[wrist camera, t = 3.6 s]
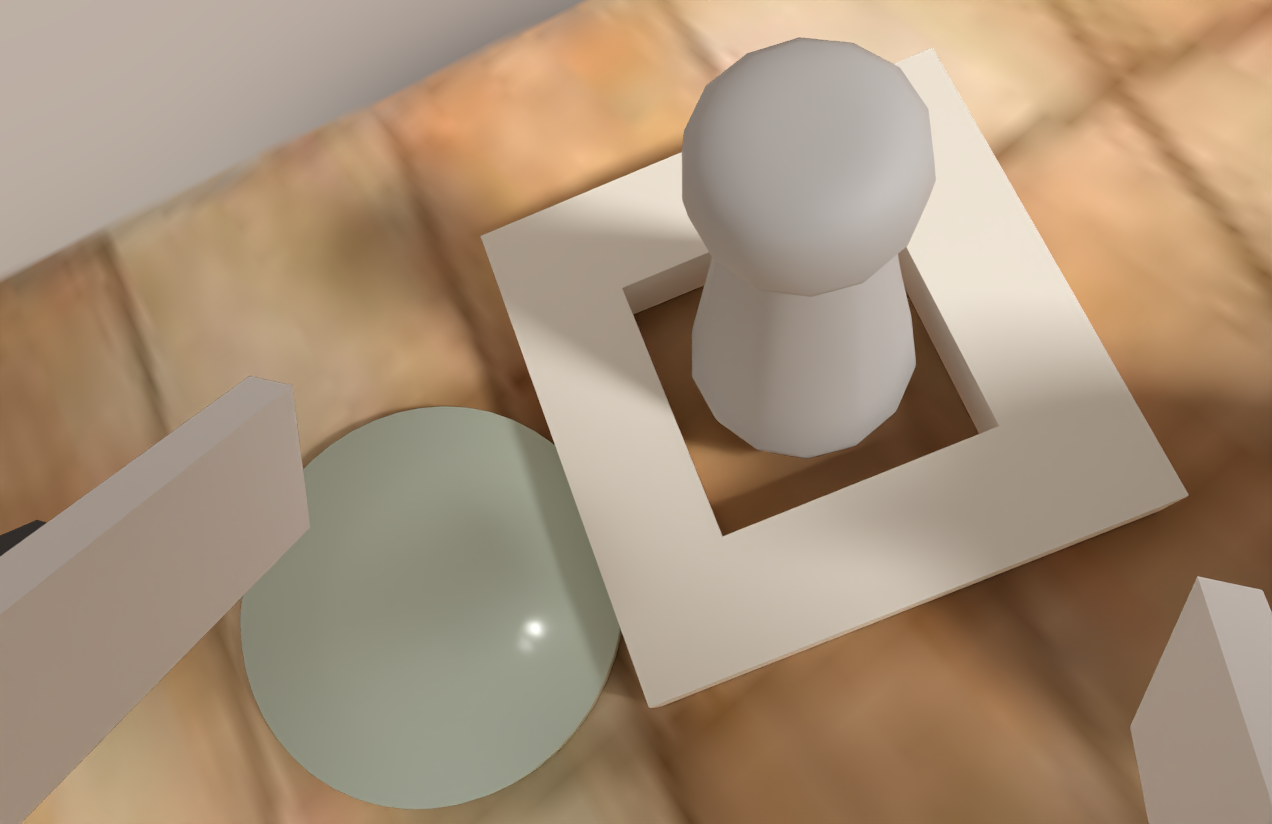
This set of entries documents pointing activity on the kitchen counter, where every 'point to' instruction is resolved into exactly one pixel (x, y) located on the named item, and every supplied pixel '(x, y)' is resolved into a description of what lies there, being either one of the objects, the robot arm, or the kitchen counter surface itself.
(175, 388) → the kitchen counter surface
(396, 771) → the coaster
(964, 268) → the collar
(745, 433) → the salt shaker
